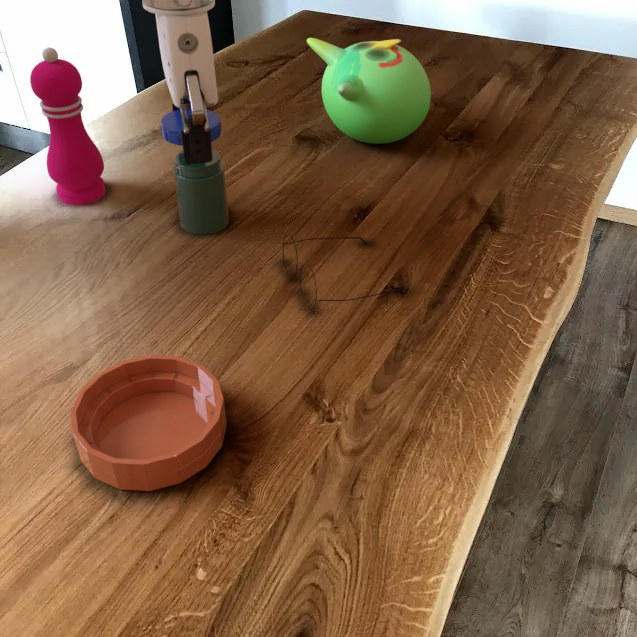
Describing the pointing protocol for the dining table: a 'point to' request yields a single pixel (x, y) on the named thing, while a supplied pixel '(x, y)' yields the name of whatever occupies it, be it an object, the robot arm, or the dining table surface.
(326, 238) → the eyeglasses
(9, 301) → the dining table surface
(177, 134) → the lid
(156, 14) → the robot arm
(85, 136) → the pepper mill
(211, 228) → the jar
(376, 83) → the toy bird
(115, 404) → the bowl
